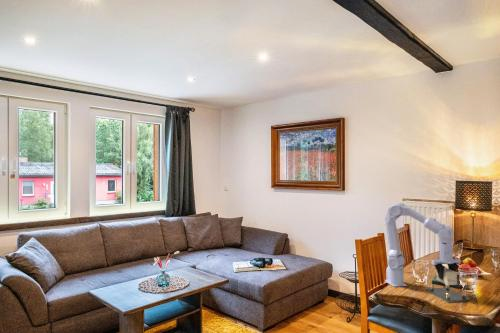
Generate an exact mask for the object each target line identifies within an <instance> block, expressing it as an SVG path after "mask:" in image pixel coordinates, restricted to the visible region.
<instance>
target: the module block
mask: <svg viewBox="0 0 500 333" xmlns="http://www.w3.org/2000/svg"><path fill="white" fill-rule="evenodd" d="M436 276H437V280H438V281H440V282H442V283H444V284H446V285H457V279H458V272H457V271H456V272H455V271H453V270H450V269H449V268H447V267H445V268H444V276H443V279H440V278H439V275H438V272H437V271H436Z"/></svg>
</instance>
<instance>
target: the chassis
mask: <svg viewBox="0 0 500 333" xmlns="http://www.w3.org/2000/svg"><path fill="white" fill-rule="evenodd" d="M434 285H435V284H432V283H431V284H429V288H426V289H425V290H426V291H427V292H428V293H430V294H432V295H433V296H435V297H437V298H439V299H441V300H443V301H444V302H446V303H463V302H465V303H466V302H472V299H471V297H468V296H467V292H466V291H462V292H461V293H460V292H458V291H455V290H453V288H451V287H449V285H446V287H445V286H444V287H435V286H434Z"/></svg>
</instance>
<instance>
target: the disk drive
mask: <svg viewBox="0 0 500 333" xmlns="http://www.w3.org/2000/svg"><path fill="white" fill-rule="evenodd" d="M459 280H460V279H458V278H457V285H449V288H450V289H456V290H461V289H462V288H463V287H462V285H461V284H460V281H459ZM431 284H432V285H435V286H441V287H444V288H445V287H446V284H444V283H442V282H440V281H438V280H437V275H435V276H434V277H433V278H432V280H431Z"/></svg>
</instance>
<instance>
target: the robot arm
mask: <svg viewBox="0 0 500 333" xmlns="http://www.w3.org/2000/svg"><path fill="white" fill-rule="evenodd" d="M401 216H403V217H404V216H406V217H408V216H409V217H411V218H413V219H414V220H416V221H417V222H420V223H421V224H423V225H424V228H426V229H427V230H428V231H431V232H432V233H434V234H436V235H437V236H438V238H439V258H437V259H431V262H430V263H431V265H433V266H434V267H435V269H436V273H437V272H438V275H439V278H440V279H443V276H444V268H446V267H445V265H447V267H448V269H450V270H453V271H455V272H457V271H458V269H459V267H460V266H459V265H462V264H461V262H462V260H461V259H458V258H454V250H453V249H454V248H453V246H454V245H453V236H454V234H455V233H454V229H453V228H452V227H451V226H449V225H446V224H444V223H443V224H442V223H441V222H439V221H437V218H435V217H433V218H432V217H428V218H427V217H426V216H424V215H423V214H421V213H419V212H418V211H416V210H415V209H413V208H412V207H410V206H409V205H406V204H404V203H402V202H400V203H397V204H394V203H393V204H391V205H390V206H389V207H388V208H387V212H386V215H385V217H384V221H385V227H386V235H387V240H388V247H389V249H388V250H389V252H388V255H387V256H388V259H387V264H388V266H387V267H386V270H385V272H386V273H385V277H386V278H385V280H384V282H386V283H387V284H388V285H390V286H392V287H407V286H408V284H406V283H404V282H405V281H404V280H405V278H404V277H405V276H404V268H405V267H404V264H405V263H406V259H405V257H404V255H403V252H402V251H401V249H400V248H401V247H400V240H399V235H398V234H399V233H398V229H397V228H398V227H397V220H398V219H399V218H400V217H401Z"/></svg>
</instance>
